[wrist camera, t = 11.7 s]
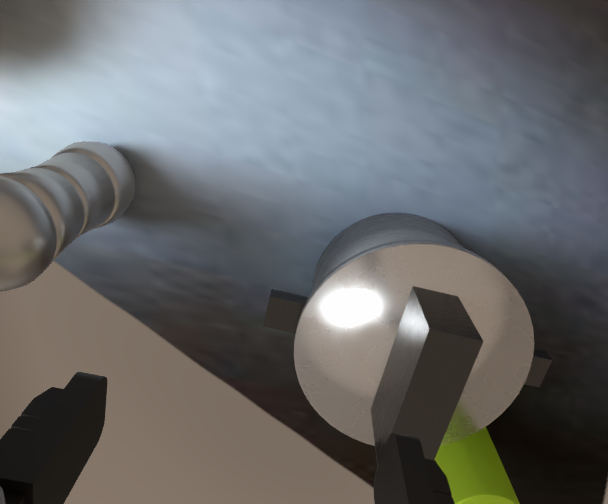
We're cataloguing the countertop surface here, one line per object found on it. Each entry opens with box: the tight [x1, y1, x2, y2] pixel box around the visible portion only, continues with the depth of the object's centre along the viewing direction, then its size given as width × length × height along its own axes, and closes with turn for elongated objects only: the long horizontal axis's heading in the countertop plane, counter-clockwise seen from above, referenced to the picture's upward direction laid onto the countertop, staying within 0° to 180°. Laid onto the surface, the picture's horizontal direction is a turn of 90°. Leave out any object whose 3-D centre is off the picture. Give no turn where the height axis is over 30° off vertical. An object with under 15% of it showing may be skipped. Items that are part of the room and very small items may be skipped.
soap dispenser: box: [434, 427, 520, 504], centre depth 38 cm, size 6×7×20 cm
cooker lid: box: [294, 240, 534, 466], centre depth 31 cm, size 16×16×6 cm
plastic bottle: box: [0, 141, 135, 292], centre depth 32 cm, size 6×7×20 cm
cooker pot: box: [263, 213, 552, 388], centre depth 39 cm, size 14×21×10 cm
